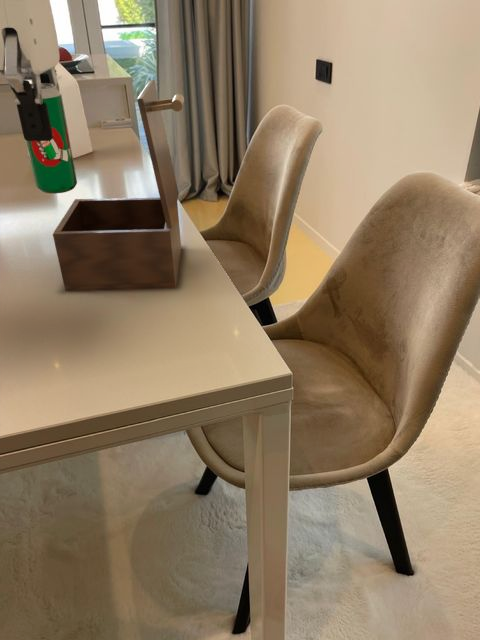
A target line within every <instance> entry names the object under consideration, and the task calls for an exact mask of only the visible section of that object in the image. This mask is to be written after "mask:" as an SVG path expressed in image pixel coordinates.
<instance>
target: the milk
mask: <svg viewBox="0 0 480 640" xmlns="http://www.w3.org/2000/svg"><path fill="white" fill-rule="evenodd" d="M55 70H56V74H57V75H56V77H57V80H58V84H59V90H60V91H59V93H60V94H61V95H62V101H63V106H64V112H65V117H66V123H67V128H68V134H69V139H70V145H71V150H72V156H73V159H75V158H79V157H81V156H84V155H86V154H90V153H92V152H93V146H92V140H91V137H90V132H89V126H88V122H87V118H86V113H85V108H84V104H83V99H82V94H81V90H80V86H79V83H78V81H77V79H76V78H75V77H74V76H73V75H72V74H71V73H70V72H69V71H68V70H67V69H66V68H65V67H64V66H63V65H62V64H61V63H60V62H59V63H58V64H57V65H56V66H55ZM28 81H29V83H30V84H32V81H31V80H28Z"/></svg>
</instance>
